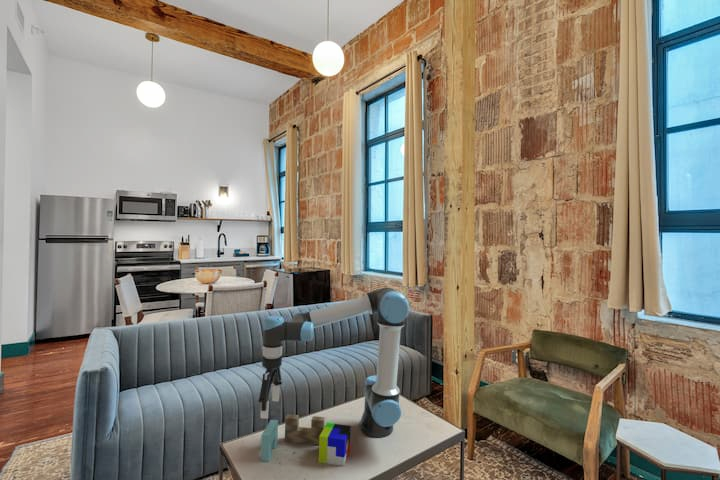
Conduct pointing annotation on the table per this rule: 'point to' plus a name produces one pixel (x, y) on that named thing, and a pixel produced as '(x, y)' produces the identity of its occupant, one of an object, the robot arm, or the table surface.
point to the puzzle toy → (334, 444)
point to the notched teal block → (269, 440)
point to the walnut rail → (303, 430)
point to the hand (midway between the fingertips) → (270, 409)
